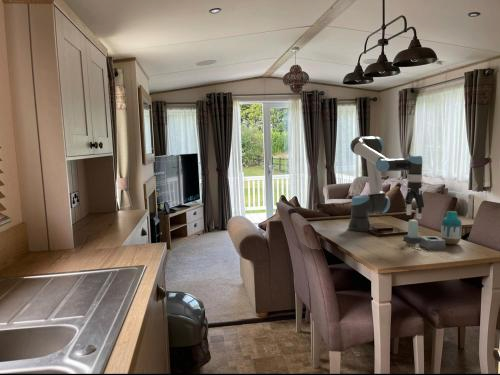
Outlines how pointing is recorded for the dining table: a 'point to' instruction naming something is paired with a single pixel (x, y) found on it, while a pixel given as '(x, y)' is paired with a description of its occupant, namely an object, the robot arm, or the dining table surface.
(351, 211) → the robot arm
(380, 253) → the dining table surface
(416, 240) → the holster
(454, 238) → the vase
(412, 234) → the plug
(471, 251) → the dining table surface
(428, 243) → the port panel
